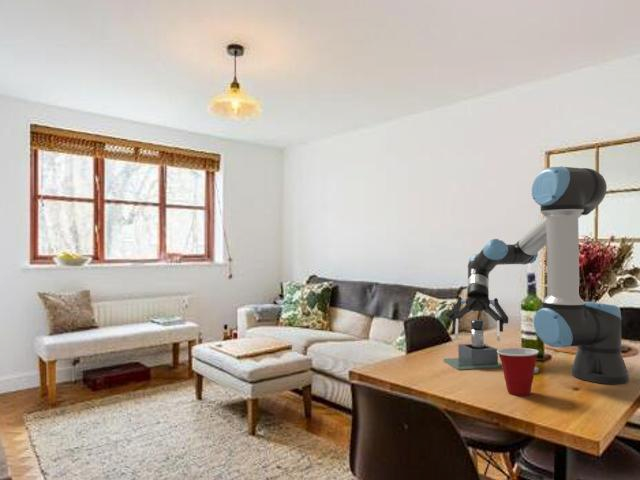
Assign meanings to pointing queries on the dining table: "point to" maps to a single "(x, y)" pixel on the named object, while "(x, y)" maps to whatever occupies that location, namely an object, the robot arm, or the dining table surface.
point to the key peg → (477, 334)
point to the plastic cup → (518, 369)
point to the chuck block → (474, 358)
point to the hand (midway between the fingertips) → (477, 337)
